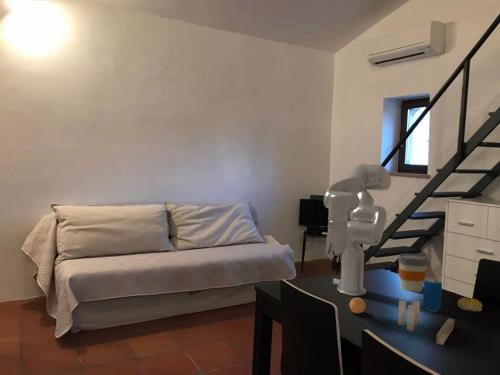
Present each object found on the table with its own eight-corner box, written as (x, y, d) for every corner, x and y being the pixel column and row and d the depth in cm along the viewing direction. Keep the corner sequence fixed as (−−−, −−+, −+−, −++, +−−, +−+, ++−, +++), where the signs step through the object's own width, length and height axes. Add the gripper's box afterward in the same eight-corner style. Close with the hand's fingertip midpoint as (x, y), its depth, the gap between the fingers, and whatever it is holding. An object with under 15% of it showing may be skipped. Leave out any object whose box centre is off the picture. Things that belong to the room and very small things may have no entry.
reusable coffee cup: (425, 286, 204) (427, 254, 202) (426, 294, 192) (428, 261, 190) (397, 282, 208) (398, 252, 206) (396, 290, 196) (398, 258, 195)
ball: (346, 313, 167) (347, 298, 167) (352, 309, 172) (353, 294, 172) (361, 317, 164) (362, 301, 163) (367, 312, 169) (368, 297, 168)
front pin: (397, 324, 158) (398, 301, 157) (399, 322, 160) (400, 299, 159) (403, 326, 157) (405, 303, 156) (405, 323, 158) (407, 301, 158)
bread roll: (458, 303, 182) (459, 293, 182) (482, 307, 178) (483, 298, 177) (455, 309, 175) (456, 299, 175) (480, 314, 171) (481, 304, 170)
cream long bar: (436, 343, 143) (436, 334, 142) (447, 326, 157) (448, 318, 157) (442, 345, 142) (443, 336, 141) (453, 327, 156) (454, 319, 156)
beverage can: (441, 313, 170) (443, 283, 169) (424, 311, 171) (426, 281, 170) (438, 307, 176) (440, 278, 175) (421, 305, 178) (423, 277, 177)
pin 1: (405, 329, 153) (407, 306, 152) (407, 327, 155) (409, 304, 154) (412, 331, 152) (414, 308, 151) (414, 329, 154) (416, 306, 153)
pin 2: (410, 324, 158) (411, 301, 157) (412, 322, 160) (413, 300, 159) (417, 326, 157) (418, 303, 156) (419, 324, 159) (420, 301, 158)
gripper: (337, 221, 179) (335, 265, 181) (320, 226, 167) (318, 273, 168) (354, 223, 174) (352, 268, 176) (338, 229, 162) (336, 276, 164)
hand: (336, 270), depth 172 cm, fingers closed
